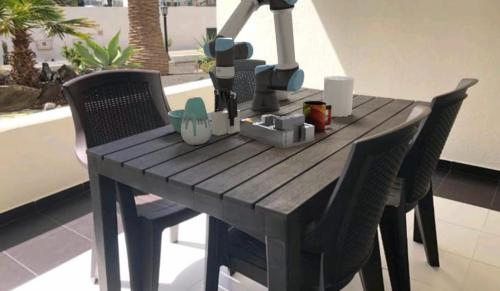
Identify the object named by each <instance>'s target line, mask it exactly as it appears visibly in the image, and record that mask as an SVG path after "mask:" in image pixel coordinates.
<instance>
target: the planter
mask: <svg viewBox="0 0 500 291" xmlns="http://www.w3.org/2000/svg"><path fill="white" fill-rule="evenodd" d="M290 95H291V92H287V91H279V90H277V97H278V101H279V102H281V101H285V100H287V99H288V98H290Z"/></svg>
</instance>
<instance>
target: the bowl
mask: <svg viewBox="0 0 500 291" xmlns="http://www.w3.org/2000/svg"><path fill="white" fill-rule="evenodd" d="M184 110H185V108H183V109H182V108H181V109H175V110H174V109H173V110H170V111H169V112H167V116H168V119H169V121H170V123H171V125H172V128H173V130H174V131H175V132H176V133H178V134H181V124H182V119H183V115H184Z"/></svg>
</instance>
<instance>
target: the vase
mask: <svg viewBox="0 0 500 291" xmlns="http://www.w3.org/2000/svg"><path fill="white" fill-rule="evenodd" d="M184 109H185V110H184V115H183V119H182V124H181V133H180V134H181V137H182V139H183V141H184V142H185V143H186V144H188V145H192V146H200V145H203V144H206V143H207V142H208V141H209V140H210V138H211V134H212V125H211V123H210V122H211V121H210V119H209V115H208V112H207V108H206V105H205V101H204V100H203V98H202V97H201V96H198V97H195V96H194V97H190V98H188V99H187V100H186V102H185V106H184Z"/></svg>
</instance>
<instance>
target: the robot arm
mask: <svg viewBox="0 0 500 291" xmlns="http://www.w3.org/2000/svg"><path fill="white" fill-rule="evenodd" d="M298 1H299V0H240V2H239V3H238V4H237V6H236V8H235V9H234V10H233V11H232V14H230V16H229V18H228V19H227V21H226V22H225V23H224V25H222V27H221V29H220V30H219V31H218V33H217V34H216V36H215V37H214V39H213V40H208V41H206V42H205V43H204V44H203V47H202V48H203V54H204V56H205V57H206V58H208V59H213V60H215V76H216V77H215V86H216V87H218V88H217V89H213V94H214V95H213V96H214V105H213V106H214V107H213V108H214V110H213V111H214V112H219V111H225V105H226V110H227V111H228V116H229V117H228V118H227V128H228V135H230V134H231V135H232V134H234V133H235V132H234V118H235V117H238V111H237V110H238V97H239V96H238V95H239V94H238V93H235V92H234V90H233V87H235V78H234V77H235V75H236V74H235V62H237V61H247V60H250V59H251V58H252V57H253V55H254V47H253V45H252V43H251V42H248V41H235V40H236V38H238V36H239V34H240V33H241V31H242V30H243V28H244V27H245V25H246V24H247V23H248V21H249V20H250V18H251V17H252V15H253V14H254V12H256V11H258V10H259V9H260V7H262V6H269V7H268V8H269V11H270V12H271V13H272V14H273V21H274V22H273V23H274V25H273V26H274V34H275V44H276V54H277V63H273V64H271V63H270V64H261V65H256V67H255V68H254V95H253V98H252V102H251V104H250V105H251V110H253V111H257V112H274V111H278V110H280V108H281V107H280V101H278V97H277V90H279V91H287V92H290V93H297V92H298V91H300V90H301V89H302V87H303V84H304V81H305V72H304V70H303V69H302V68H300V64H299V62H298V61H296V53H295V52H296V51H295V50H296V49H295V38H294V26H293V24H294V23H293V14H292V12H293V10H294V9H295V4H297V2H298Z"/></svg>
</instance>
